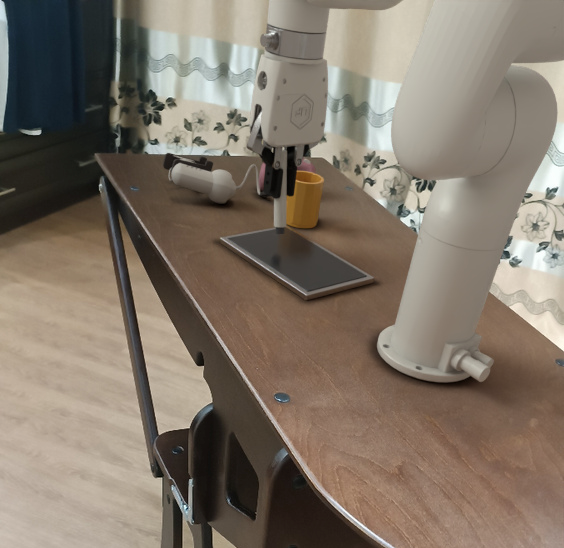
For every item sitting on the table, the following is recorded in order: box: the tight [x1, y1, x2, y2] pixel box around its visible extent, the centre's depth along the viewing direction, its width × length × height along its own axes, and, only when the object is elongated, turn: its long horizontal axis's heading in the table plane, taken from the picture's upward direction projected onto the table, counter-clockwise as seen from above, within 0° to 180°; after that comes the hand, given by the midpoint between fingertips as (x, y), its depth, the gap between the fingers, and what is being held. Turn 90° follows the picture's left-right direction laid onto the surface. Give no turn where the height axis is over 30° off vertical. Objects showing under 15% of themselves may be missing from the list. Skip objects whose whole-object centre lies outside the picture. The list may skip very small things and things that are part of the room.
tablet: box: [219, 224, 375, 301], centre depth 104 cm, size 20×13×1 cm, turn 39°
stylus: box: [273, 149, 287, 234], centre depth 102 cm, size 2×2×11 cm
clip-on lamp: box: [162, 152, 271, 204], centre depth 119 cm, size 12×6×18 cm
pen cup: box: [286, 171, 325, 229], centre depth 114 cm, size 6×6×7 cm
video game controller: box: [258, 157, 317, 192], centre depth 125 cm, size 10×5×7 cm, turn 84°
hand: (278, 193), depth 102 cm, fingers closed on stylus, 1 cm apart
